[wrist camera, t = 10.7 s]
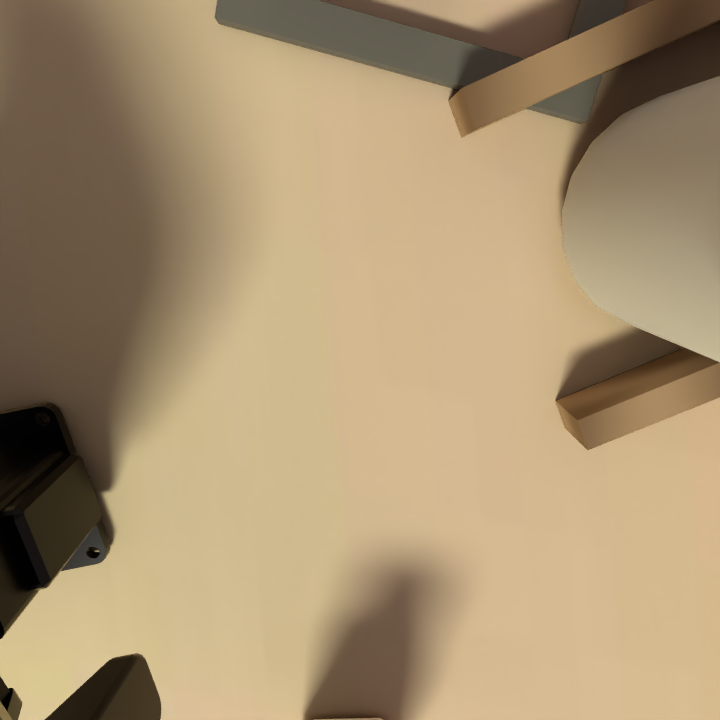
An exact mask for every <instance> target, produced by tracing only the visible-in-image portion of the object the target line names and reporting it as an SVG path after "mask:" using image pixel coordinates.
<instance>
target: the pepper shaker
mask: <svg viewBox="0 0 720 720" xmlns="http://www.w3.org/2000/svg"><path fill="white" fill-rule="evenodd" d="M314 720H383V719H380V718H350V719H314Z"/></svg>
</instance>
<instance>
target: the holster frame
mask: <svg viewBox="0 0 720 720" xmlns="http://www.w3.org/2000/svg"><path fill="white" fill-rule="evenodd" d="M625 3H626V0H580V1H579V5H578V8H577V11H576V15H575V18H574V21H573V24H572V28H571V31H570V34H569V38H568V39H570V38H572V37H574V36H577V35H579V34H581V33H583V32H585V31H588V30H590V29H592V28H594V27H596V26H598V25H601V24H603V23H605V22H607V21H609V20H612V19H614V18H616V17H618V16H620V15H622V12H623V9H624V6H625ZM215 19H216V20H217V22H218V23H219V24H222V25H225V26H229V27H232V28H236V29H240V30H243V31H247V32H251V33H254V34H258V35H261V36H265V37H269V38H272V39H276V40H279V41H283V42H287V43H290V44H294V45H298V46H301V47H305V48H308V49H312V50H316V51H319V52H323V53H326V54H330V55H334V56H337V57H341V58H345V59H348V60H352V61H355V62H359V63H363V64H366V65H370V66H373V67H377V68H381V69H384V70H388V71H392V72H395V73H399V74H402V75H406V76H410V77H413V78H417V79H420V80H424V81H428V82H431V83H435V84H439V85H442V86H446V87H449V88H453V89H457V90H460V89H461V88H463V87H465V86H468V85H470V84H472V83H474V82H476V81H478V80H481V79H483V78H485V77H487V76H489V75H492V74H494V73H496V72H498V71H500V70H502V69H505V68H507V67H509V66H511V65H513V64H516V63H518V62H520V61H522V60H524V59H522V58H519V57H515V56H512V55H508V54H505V53H501V52H498V51H494V50H491V49H487V48H484V47H480V46H477V45H473V44H470V43H466V42H463V41H459V40H456V39H452V38H449V37H445V36H442V35H438V34H435V33H431V32H428V31H424V30H421V29H417V28H414V27H410V26H407V25H403V24H400V23H396V22H393V21H389V20H386V19H382V18H379V17H375V16H372V15H368V14H365V13H361V12H358V11H354V10H351V9H347V8H344V7H340V6H337V5H333V4H330V3H326V2H323V1H319V0H217V6H216V13H215ZM602 74H603V73H602ZM602 74H600V75H598V76H595V77H593V78H591V79H589V80H587V81H584V82H582V83H580V84H578V85H576V86H573V87H571V88H569V89H567V90H564V91H562V92H560V93H558V94H556V95H553V96H551V97H549V98H547V99H545V100H542V101H540V102H538V103H536V104H533V105H531V106H529V107H528V108H526V109H529V110H533V111H536V112H540V113H543V114H547V115H551V116H554V117H558V118H561V119H565V120H569V121H572V122H576V123H583V122H586V121H588V118H589V115H590V112H591V109H592V105H593V102H594V99H595V96H596V93H597V90H598V87H599V84H600V81H601V77H602Z"/></svg>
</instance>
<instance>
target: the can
mask: <svg viewBox="0 0 720 720" xmlns="http://www.w3.org/2000/svg"><path fill="white" fill-rule="evenodd" d="M561 217H562V246H563V252H564V254H565V257H566V260H567V263H568V265H569V268H570V271H571V273H572V276H573V279H574V281H575V283H576V284H577V285H578V286H579V287H580V288H581V290H582V291H583V292H584V293H585V294H586V296H587V297H588V298H589V299H590V300H591V302H592V303H593V304H594V305H595V306H596V307H598V308H600V309H601V310H603V311H605V312H607V313H608V314H610V315H612V316H614V317H615V318H617V319H619V320H621V321H622V322H624V323H627V324H629V325H632V326H634V327H636V328H639V329H641V330H644V331H646V332H648V333H651V334H653V335H656V336H658V337H661V338H663V339H665V340H668V341H670V342H673V343H675V344H677V345H680V346H682V347H685V348H687V349H689V350H692V351H694V352H697V353H699V354H701V355H704V356H706V357H709V358H711V359H713V360H716V361H718V362H720V76H718V77H715V78H712V79H709V80H706V81H703V82H700V83H697V84H694V85H691V86H688V87H685V88H682V89H679V90H676V91H673V92H670V93H667V94H664V95H661V96H658V97H656V98H654V99H652V100H650V101H648V102H646V103H644V104H642V105H640V106H638V107H636V108H633V109H631V110H629V111H627V112H625V113H623V114H621V115H620V116H619V117H618V118H617V119H616V120H615V121H614V122H613V123H612V124H611V125H610V126H608V127H607V128H606V129H605V130H604V131H603V132H602V133H601V134H600V135H599V136H598V137H597V138H596V139H594V140H593V141H592V143H591V144H590V146H589V148H588V149H587V151H586V153H585V154H584V156H583V158H582V159H581V161H580V163H579V164H578V166H577V167H576V169H575V171H574V172H573V174H572V176H571V179H570V183H569V187H568V190H567V194H566V198H565V201H564V205H563V209H562V213H561Z"/></svg>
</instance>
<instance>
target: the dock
mask: <svg viewBox="0 0 720 720" xmlns="http://www.w3.org/2000/svg"><path fill="white" fill-rule="evenodd" d="M718 21H720V0H653V1H651V2H649V3H646V4H644V5H642V6H640V7H638V8H636V9H633V10H631V11H629V12H627V13H625V14H622V15H620V16H618V17H616V18H614V19H612V20H609V21H607V22H605V23H603V24H601V25H598V26H596V27H594V28H592V29H590V30H588V31H585V32H583V33H581V34H579V35H577V36H574V37H572V38H570V39H568V40H566V41H564V42H561V43H559V44H557V45H555V46H553V47H550V48H548V49H546V50H544V51H542V52H540V53H537V54H535V55H533V56H531V57H529V58H526V59H524V60H522V61H520V62H518V63H516V64H513V65H511V66H509V67H507V68H505V69H502V70H500V71H498V72H496V73H494V74H492V75H489V76H487V77H485V78H483V79H481V80H478V81H476V82H474V83H472V84H470V85H468V86H465V87H463V88H461V89H460V90H459V91H458V92H457V93H456V94H455V95H454V96H453V97H452V98H451V99H450V100H449V104H450V106H451V109H452V112H453V115H454V118H455V120H456V123H457V126H458V129H459V132H460V134H461V137H464V136H466V135H468V134H470V133H472V132H475V131H477V130H479V129H481V128H484V127H486V126H488V125H490V124H492V123H495V122H497V121H499V120H501V119H503V118H506V117H508V116H510V115H512V114H515V113H517V112H519V111H521V110H523V109H526V108H528V107H529V106H531V105H533V104H536V103H538V102H540V101H542V100H545V99H547V98H549V97H551V96H553V95H556V94H558V93H560V92H562V91H564V90H567V89H569V88H571V87H573V86H576V85H578V84H580V83H582V82H584V81H587V80H589V79H591V78H593V77H595V76H598V75H600V74H602V73H605V72H608V71H610V70H612V69H614V68H616V67H619V66H621V65H623V64H625V63H628V62H630V61H632V60H634V59H636V58H639V57H641V56H643V55H645V54H647V53H650V52H652V51H654V50H656V49H659V48H661V47H663V46H665V45H667V44H670V43H672V42H674V41H676V40H678V39H681V38H683V37H685V36H687V35H690V34H692V33H694V32H696V31H698V30H701V29H703V28H705V27H707V26H709V25H712V24H714V23H716V22H718ZM719 397H720V362H718V361H716V360H713V359H711V358H709V357H706V356H704V355H701V354H699V353H697V352H694V351H692V350H689V349H687V348H683V349H681V350H678V351H676V352H673V353H671V354H668V355H666V356H664V357H661V358H659V359H656V360H654V361H651V362H649V363H646V364H644V365H642V366H639V367H637V368H634V369H632V370H629V371H627V372H625V373H622V374H620V375H617V376H615V377H612V378H610V379H607V380H605V381H603V382H600V383H598V384H595V385H593V386H590V387H588V388H585V389H583V390H581V391H578V392H576V393H573V394H571V395H568V396H566V397H563V398H561V399H559V400H556V404H557V406H558V409H559V412H560V415H561V418H562V420H563V423H564V426H565V428H566V429H567V430H568V431H569V432H570V433H571V434H572V435H573V436H574V437H575V438H576V439H577V440H578V441H579V442H580V443H581V444H582V445H583V446H584V447H585V448H586V449H587V450H589V449H592V448H594V447H597V446H599V445H602V444H604V443H607V442H609V441H612V440H614V439H617V438H619V437H622V436H624V435H627V434H629V433H632V432H634V431H637V430H639V429H642V428H644V427H647V426H649V425H652V424H654V423H657V422H659V421H662V420H664V419H667V418H669V417H672V416H674V415H677V414H679V413H682V412H684V411H687V410H689V409H692V408H694V407H697V406H699V405H702V404H704V403H707V402H709V401H712V400H714V399H717V398H719Z"/></svg>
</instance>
